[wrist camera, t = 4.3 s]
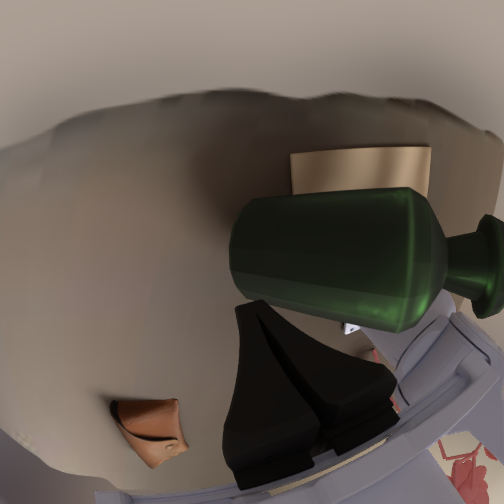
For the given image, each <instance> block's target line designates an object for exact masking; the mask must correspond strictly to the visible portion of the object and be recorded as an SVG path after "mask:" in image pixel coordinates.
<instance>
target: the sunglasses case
mask: <svg viewBox="0 0 504 504" xmlns="http://www.w3.org/2000/svg"><path fill="white" fill-rule="evenodd" d="M109 408H110V414H111V416H112V417H113V419H114V420H115V422H116V424H117V426H118V428H119V429H120V431H121V432H122V434H123V436H124V437H125V438H126V440H127V441H128V443H129V444H130V445H131V447H132V448H133V449H134V451H135V452H136V453H137V454H138V456H139V457H140V458H141V459H142V460H143V461H144V462H145V463H146V464H147V465H148V466H149V467H150V468H152V469H154V468H155V467H157V466H158V465H159V464H161V463H162V462H163V461H166V460H168V459H170V458H172V457H174V456H176V455H178V454H180V453H182V452H184V451H186V450H187V449H189V446H188V445H187V443H186V441H185V438H184V435H183V432H182V428H181V424H180V419H179V407H178V400H177V399H167V400H150V401H149V400H148V401H115V400H113V401H112V402H111V404H110V407H109Z"/></svg>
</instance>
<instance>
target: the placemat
mask: <svg viewBox="0 0 504 504" xmlns="http://www.w3.org/2000/svg"><path fill="white" fill-rule="evenodd" d="M430 159H431V147H369V148H351V149H336V150H324V151H313V152H304V153H295V154H290V164H291V180H292V195H295V194H305V193H316V192H328V191H340V190H354V189H370V188H389V187H410V188H412V189H413V190H415V191H417V192H418V193H420V194H421V195H423V196H424V197H426V199H427V192H428V183H429V172H430Z"/></svg>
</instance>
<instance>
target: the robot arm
mask: <svg viewBox="0 0 504 504" xmlns="http://www.w3.org/2000/svg"><path fill="white" fill-rule="evenodd" d="M235 313H236V318H237V323H238V328H239V336H240V347H239V364H238V372H237V378H236V384H235V389H234V393H233V397H232V401H231V405H230V409H229V412H228V415H227V418H226V421H225V424H224V431H223V441H222V450H223V455H224V458H225V461H226V464H227V466H228V467H229V468H230V469H231V470H232V472H233V474H234V477H235V480H236V482H235V483H231V484H227V485H222V486H217V487H212V488H206V489H200V490H194V491H187V492H178V493H169V494H156V495H135V496H134V495H129V494H127V493H124V492H118V491H97V490H96V491H95V500H96V504H466V503H465V502H464V500H463V499H462V497H461V496H460V494H459V493H458V491H457V490H456V488H455V487H454V486H453V484H452V483H451V481H450V480H449V478H448V477H447V476H446V474H445V473H444V471H443V470H442V468H441V467H440V466H439V464H438V463H437V461H436V460H435V459H434V457H433V456H432V454H431V453H430V452H429V450H428V448H429V447H430V446H432V445H433V444H434V443H436V442H437V441H438V440H439V439H440V438H442V437H443V436H444V435H450V434H454V433H459V432H464V431H469V432H470V433H471V434H472V435H473V436H474V437H475V438H476V439H477V440H479V441H480V443H482V444H483V445H484V446H485V447H486V448H487V449H488V450H489V451H490V452H491V453H492V454H493V455H494V456H495V457H496V458H497V459H498V460H499V461H500V462H501V463H502V464H503V465H504V392H503V391H502V389H503V385H504V352H503V351H502V349H501V348H500V347H499V346H498V345H497V344H496V343H495V341H494V340H493V339H492V338H491V337H490V336H489V335H488V334H487V333H486V332H485V331H484V330H483V329H482V328H481V327H480V326H478V325H477V324H476V323H475V322H474V321H473V320H471V319H470V318H469V317H467V316H466V315H465V314H464V313H462V312H460V311H459V312H456V308H455V304H454V301H453V299H452V297H451V295H450V293H449V292H448V291H447V290H444V289H442V290H441V291H440V293H439V294H438V296H437V298H436V299H435V300H434V302H433V303H432V305H431V306H430V308H429V309H428V310H427V312H426V313H425V315H424V316H423V317H422V319H421V320H420V321H419V323H418V324H417V325H416V326H415V327H413V328H410V329H408V330H406V331H403V332H401V333H399V334H396V333H391V332H386V331H381V330H376V329H371V328H366V327H361V326H357V325H352V324H348V323H344V329H343V332H344V333H345V334H349V333H351V332H353V331H356V330H358V329H361V330H362V331H363V332H364V333H365V334H366V336H367V337H368V338H369V339H370V340H371V342H372V343H373V344H374V345H375V346H376V347H377V349H378V350H379V351H380V352H381V353H382V355H383V356H384V357H385V358H386V359H387V361H388V362H389V363H390V364H391V365H392V367H393V368H394V369H395V372H394V373H393V374H392V373H391V371H390V370H389V369H388V368H387V367H385V365H384V364H380V363H375V362H371V361H366V360H363V359H359V358H356V357H353V356H350V355H347V354H345V353H342V352H340V351H337V350H335V349H333V348H330V347H328V346H326V345H324V344H322V343H321V342H319V341H317V340H315V339H313V338H312V337H310V336H308V335H307V334H305V333H304V332H302V331H301V330H299V329H298V328H296V327H295V326H294V325H292V324H291V323H290V322H288V321H287V320H286V319H284V318H283V317H282V316H281V315H279V314H278V313H277V312H276V311H275V310H274V309H273V308H271V307H270V306H269V305H268V304H267V303H266V302H265V301H264V300H262V299H260V300H257V301H253V302H250V303H246V304H243V305H239V306H236V308H235ZM393 392H394V396H395V400H396V402H397V404H398V406H399V408H400V409H401V411H400V412H399V413H398V414H397V413H396V412H395V410H394V409H393V408H392V406H393V402H392V401H391V399H390V397H391V395H392V393H393ZM391 434H392V435H391ZM388 436H389V437H388ZM387 437H388V438H387ZM385 438H387V439H386V441H385V442H384V444H382V445H380V446H379V447H377V448H375V449H374V450H372V451H370V452H368V453H367V454H365V455H363V456H361V457H359V458H358V459H355V460H353V461H351V462H349V463H348V464H345V465H343V466H342V467H339V468H337V469H336V470H333V471H331V472H329V473H327V474H325V475H323V476H321V477H318V478H316V479H314V480H312V481H309V482H307V483H305V484H302V485H300V486H298V487H295V488H293V489H290V490H288V491H285V492H282V493H280V494H277V495H274V496H271V495H270V493H268V492H265V491H269V490H272V489H275V488H278V487H281V486H284V485H287V484H290V483H293V482H296V481H299V480H301V479H304V478H306V477H309V476H311V475H314V474H316V473H318V472H321V471H323V470H326V469H328V468H330V467H332V466H335V465H337V464H339V463H341V462H343V461H345V460H347V459H349V458H351V457H353V456H355V455H357V454H359V453H360V452H362V451H364V450H366V449H368V448H370V447H371V446H373V445H375V444H377V443H378V442H380V441H382V440H383V439H385ZM262 492H265V493H262ZM258 493H260V494H258Z"/></svg>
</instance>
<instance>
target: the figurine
mask: <svg viewBox="0 0 504 504" xmlns="http://www.w3.org/2000/svg"><path fill="white" fill-rule="evenodd" d="M372 352H373V355H374V358H375V361H376V363H380V362H379V359H378V355H377V352H376V350H373V351H372ZM390 399H391V401H392V402H393V404H394V406H395V407H396V409H397V410H398V412H400V411H401V410H400V409H399V407H398V406H397V404H396V403H395V401H394V400H393V398H392V397H390ZM438 444H439V447H440V450H441V453H442V457H443V459H446V460H452V459H457V458H462V457H465V458H463V459H461V460H455V462H454V463H453V467H452V474H451V476H452V477H450V476H447V475H446V476H447V477H448V478H449V480H450V481H451V483H452V484H453V486H454V487H455V488H456V490H457V491H458V493H459V494H460V496H461V497H462V499H463V500H464V502H465V503H466V504H489V496H488V493H487V491H486V490H487V488H488V485H487V483H486V482H485V481H484V480H483V479H484V477H485V474H486V467H485V466H477V467H475V466H476V456H477V454H478V450H479V448H480V447H481V445H482V443H479V445H478V447H477V448H476V449H475V450H474V451H472V453H467V454H462V455H457V456H451V457H446V454H445V451H444V449H443V446H442V443H441V441H440V439H439V440H438ZM484 450H485V453H486V455H487V456H488V457H489V458H490V459H493V460H498V459H497V458H496V457H495V456H494V455H493V454H492V453H491V452H490V451H489V450H488V449H487V448H486V447H484ZM466 456H467V457H466ZM471 457H472V461H471V460H468V459H470V458H471ZM464 461H465V462H464ZM462 462H464V463H462Z"/></svg>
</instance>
